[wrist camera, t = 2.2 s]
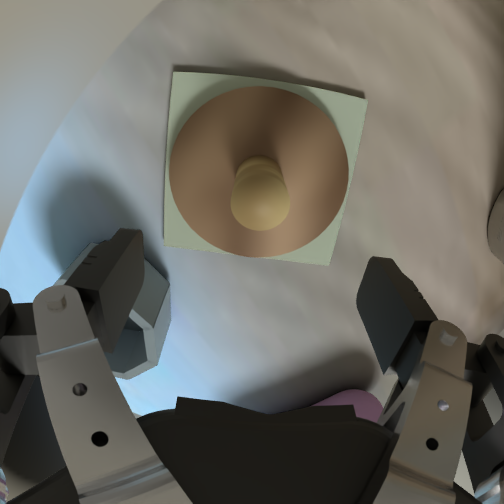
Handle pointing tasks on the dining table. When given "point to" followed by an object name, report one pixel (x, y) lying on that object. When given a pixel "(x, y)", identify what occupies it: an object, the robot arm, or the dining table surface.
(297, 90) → the mat
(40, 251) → the dining table surface
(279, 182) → the lid
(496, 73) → the dining table surface
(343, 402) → the toy
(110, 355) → the cup
